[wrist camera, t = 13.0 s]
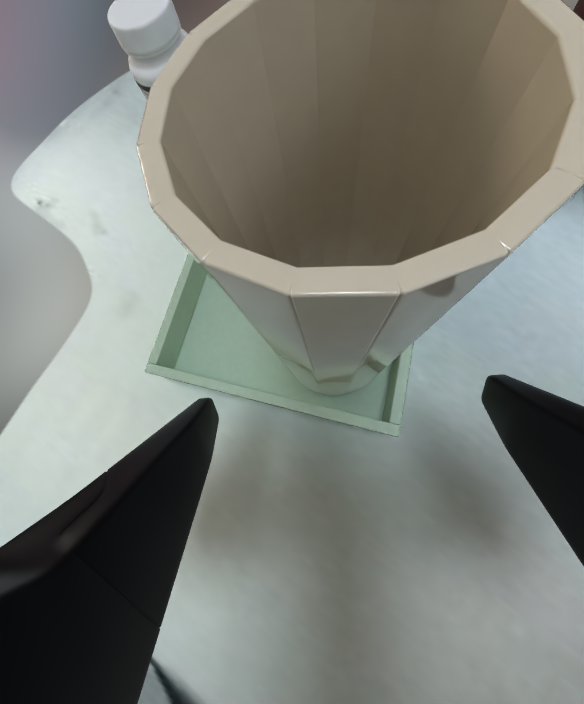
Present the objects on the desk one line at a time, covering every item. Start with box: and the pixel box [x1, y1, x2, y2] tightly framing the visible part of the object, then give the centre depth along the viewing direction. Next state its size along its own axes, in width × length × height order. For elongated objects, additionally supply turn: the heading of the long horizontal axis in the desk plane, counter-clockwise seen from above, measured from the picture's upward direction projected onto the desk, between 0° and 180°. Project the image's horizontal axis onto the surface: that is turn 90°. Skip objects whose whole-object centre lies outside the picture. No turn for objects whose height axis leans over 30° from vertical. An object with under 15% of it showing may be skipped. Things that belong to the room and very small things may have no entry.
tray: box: [145, 253, 414, 437], centre depth 18 cm, size 17×15×2 cm
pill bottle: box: [108, 0, 188, 100], centre depth 20 cm, size 5×5×8 cm
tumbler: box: [137, 0, 584, 396], centre depth 11 cm, size 6×6×14 cm
